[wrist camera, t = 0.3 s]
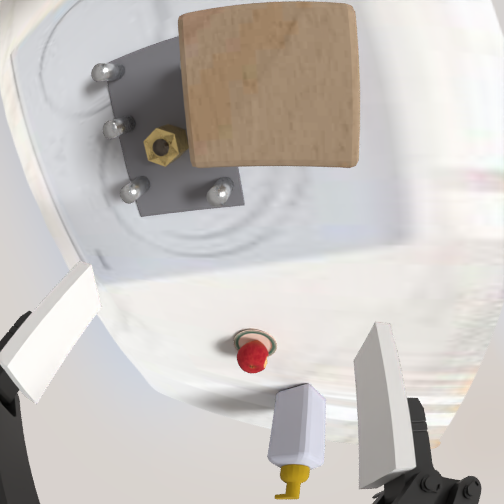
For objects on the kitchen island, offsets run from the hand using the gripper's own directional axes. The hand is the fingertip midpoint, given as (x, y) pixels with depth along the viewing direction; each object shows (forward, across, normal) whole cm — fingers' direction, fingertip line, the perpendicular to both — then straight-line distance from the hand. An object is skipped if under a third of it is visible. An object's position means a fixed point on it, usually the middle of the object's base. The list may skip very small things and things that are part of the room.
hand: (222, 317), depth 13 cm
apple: (+27, +2, -33) cm, 43 cm away
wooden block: (+28, 0, +9) cm, 29 cm away
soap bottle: (+27, +14, -49) cm, 58 cm away
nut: (+27, -14, +1) cm, 30 cm away
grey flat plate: (+27, -14, +3) cm, 31 cm away
